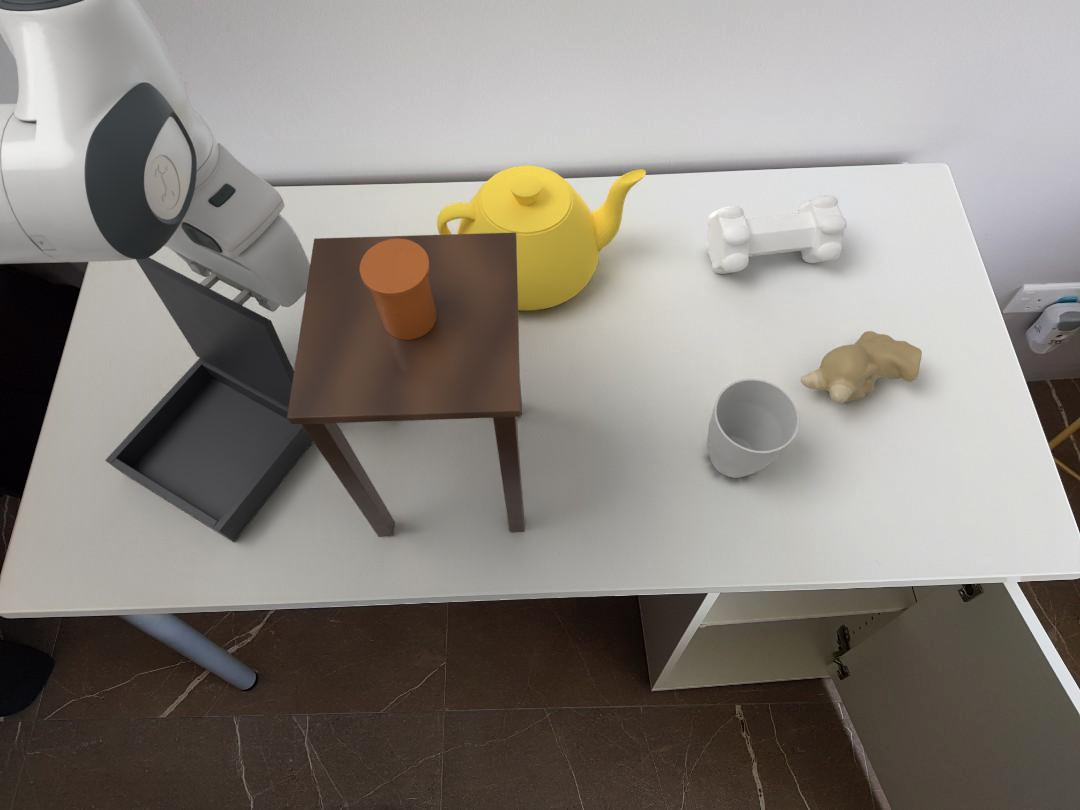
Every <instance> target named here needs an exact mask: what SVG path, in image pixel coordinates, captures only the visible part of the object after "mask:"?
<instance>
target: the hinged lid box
mask: <svg viewBox="0 0 1080 810" xmlns="http://www.w3.org/2000/svg"><path fill="white" fill-rule="evenodd" d="M288 408H289V407H288V406H286V405H285V404H283V403H281V402H279V401H277V400H276V399H274V398H272V397H270V396H268V395H266V394H265V393H263V392H261V391H259V390H257V389H256V388H254V387H252V386H250V385H248V384H246V383H245V382H243V381H241V380H239V379H237V378H235V377H234V376H232V375H230V374H228V373H226V372H225V371H223V370H221V369H219V368H217V367H215V366H214V365H212V364H210V363H208V362H206V361H205V360H203V359H201V358H199V357H198V359H197V360H196V362H195V363H193V365H192V366H190V368H189V369H188V370H187V371H186V372H185V373H184V375H182V377H180V379H179V380H178V381H177V382H176V383H175V384H174V385H173V386H172V387H171V388H170V389H169V390H168V392H167V393H165V395H164V396H163V397H162V398H161V399H159V401H158V402H157V403H156V404H155V405H154V406H153V408H152V409H151V410H149V412H148V413H147V414H146V416H145V417H144V418H143V419H142V420H141V421H140V422H139V423H138V424H137V425H136V426H135V427H134V428H133V430H132V431H131V432H130V433H129V434H127V436H126V437H125V438H124V439H123V440H122V442H120V444H119V445H117V447H116V448H115V449H114V450H113V451H112V452H111V453H110V454H109V455H108V457H106V459H104V460H105V461H104V462H106V463H107V464H109V465H110V466H112V467H113V468H114V469H116V470H117V471H119V472H120V473H121V474H122V475H124V476H125V477H127V478H129V479H131V480H132V481H134V482H135V483H137V484H138V485H140V486H142V487H143V488H145V489H146V490H148V491H149V492H152V493H153V494H155V495H156V496H158V497H160V498H161V499H163V500H165V501H166V502H168V503H170V504H171V505H173V506H174V507H176V508H177V509H178V510H181V511H182V512H183V513H186V514H187V515H189V516H190V517H192V518H194V519H195V520H197V521H198V522H200V523H202V524H203V525H205V526H206V527H208V528H209V529H211V530H213V531H214V532H216V533H218V534H220V535H221V536H222V537H224V538H225V539H227V540H229V541H231V542H232V543H235V542H236V541H237V539H238V538H239V537H240V536H241V534H242V533H243V532H244V531H245V529H246V528H247V527H248V525H249V524H250V523H251V521H253V519H254V518H255V517H256V515H257V514H258V513H259V512H260V510H261V509H262V508H263V507H264V506H265V504H266V502H267V501H268V500H269V499H270V498H271V496H272V495H273V494H274V492H275V491H276V490H277V489H278V487H279V486H280V485H281V483H283V482H284V480H285V478H286V477H287V476H288V475H289V474H290V472H291V471H292V470H293V468H294V467H295V466H296V464H298V462H299V460H300V459H301V458H302V457H303V455H305V453H306V451H308V449H309V448H310V447H311V445H312V444H314V442H313V441H312V439H311V438H310V436H309V435H308V433H307V432H306V431H305V429H304V428H303V426H302V425H301V424H291V423H290V422H289V420H288V419H287V415H288Z"/></svg>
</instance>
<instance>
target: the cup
mask: <svg viewBox="0 0 1080 810" xmlns="http://www.w3.org/2000/svg"><path fill="white" fill-rule="evenodd" d="M799 427H800V414H799V411H798V408H797V406H796V403H795V402H794V400H793V399H792V397H791V396H790V395H789V394H788V393H787V392H786V391H785V390H784V389H782V388H781V387H780V386H779V385H777V384H775V383H772V382H770V381H767V380H765V379H760V378H743V379H742V378H741V379H738V380H735V381H733V382H731V383H729V384H728V385H726V386H725V387H724V388H722V390H721V391H720V392H719V393H718V395H717V397H716V400H715V403H714V406H713V409H712V413H711V416H710V418H709V423H708V429H707V442H706V443H707V451H708V455H709V459H710V462H711V464H712V466H713V467H714V469H715V470H716V471H717V472H719V473H720V474H721V475H723V476H726V477H728V478H735V479H738V478H743V477H746V476H751V475H754V474H755V473H758V472H759V471H761V470H763V469H764V468H765V467H766V466H768V465H770V464H771V463H772V462H773V461H774V460H776V459H777V458H778V457H779V456H780V455H781V454H782V452H783V451H784V450H786V448H787V447H788V446H789V445H790V444H791V443H792V442H793V440H794V439H795V437H796V436H797V433H798V431H799Z"/></svg>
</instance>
